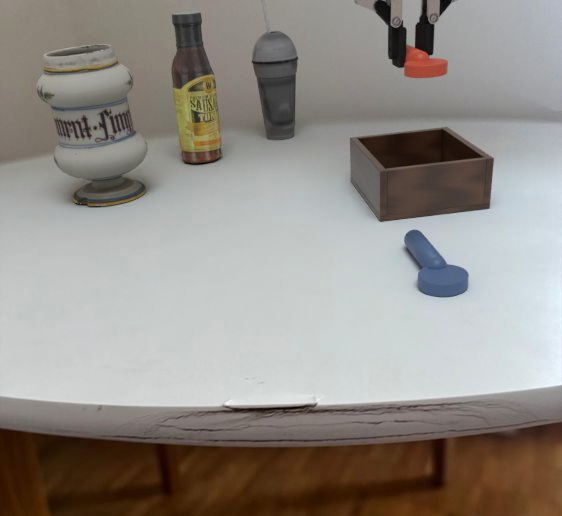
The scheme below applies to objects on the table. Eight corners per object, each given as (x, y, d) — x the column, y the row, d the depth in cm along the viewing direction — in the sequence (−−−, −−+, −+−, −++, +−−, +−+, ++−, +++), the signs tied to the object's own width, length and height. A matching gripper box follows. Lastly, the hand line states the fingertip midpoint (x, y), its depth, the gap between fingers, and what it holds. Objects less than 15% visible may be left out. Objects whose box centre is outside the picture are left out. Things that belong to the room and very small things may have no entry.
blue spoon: (390, 248, 71) (390, 229, 69) (432, 243, 71) (432, 224, 70) (425, 299, 60) (426, 278, 59) (475, 293, 61) (476, 272, 59)
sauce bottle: (201, 167, 101) (180, 15, 91) (173, 162, 105) (150, 15, 95) (233, 156, 105) (216, 9, 95) (205, 151, 109) (186, 9, 99)
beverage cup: (294, 142, 110) (285, -1, 99) (252, 141, 112) (238, 2, 101) (308, 130, 115) (300, -6, 105) (267, 130, 118) (256, -3, 107)
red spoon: (380, 63, 81) (380, 44, 79) (417, 59, 81) (417, 40, 80) (411, 79, 70) (411, 58, 69) (453, 75, 71) (454, 54, 70)
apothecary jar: (45, 205, 92) (5, 57, 82) (104, 178, 100) (75, 42, 91) (116, 213, 86) (83, 57, 77) (172, 184, 95) (148, 40, 86)
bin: (444, 170, 91) (447, 126, 88) (489, 208, 78) (494, 158, 75) (350, 181, 90) (349, 137, 87) (380, 221, 77) (379, 171, 74)
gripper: (342, -139, 63) (347, 77, 73) (510, -152, 64) (492, 62, 74) (326, -131, 70) (333, 67, 79) (479, -144, 71) (467, 53, 81)
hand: (410, 63), depth 77 cm, fingers closed on red spoon, 2 cm apart
